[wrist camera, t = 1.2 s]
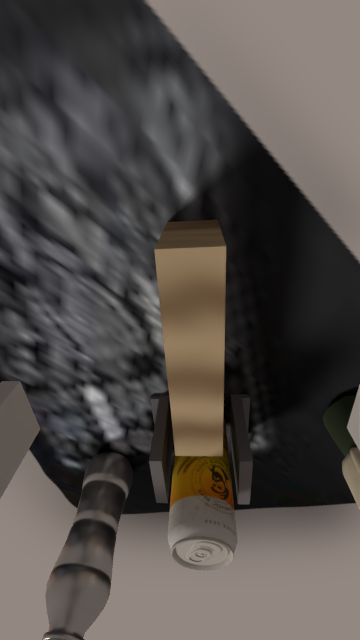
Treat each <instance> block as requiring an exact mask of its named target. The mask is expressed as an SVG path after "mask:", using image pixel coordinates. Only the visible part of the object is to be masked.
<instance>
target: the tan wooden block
mask: <svg viewBox="0 0 360 640" xmlns="http://www.w3.org/2000/svg"><path fill="white" fill-rule="evenodd" d="M154 250H155V260H156V269H157V279H158V289H159V299H160V309H161V319H162V328H163V338H164V348H165V358H166V368H167V378H168V388H169V397H170V407H171V417H172V427H173V437H174V447H175V456H223V410H224V350H225V290H226V244H225V241H224V238H223V234H222V231H221V228H220V225H219V222H218V220H201V221H181V222H167V224H166V226H165V228H164V230H163V232H162V234H161V237H160V239H159V241H158V243H157V245H156V247H155V249H154Z"/></svg>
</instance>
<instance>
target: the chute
mask: <svg viewBox="0 0 360 640" xmlns="http://www.w3.org/2000/svg"><path fill="white" fill-rule="evenodd" d="M151 406H152V412H153V418H154V425H155V427H154V433H153V439H152V446H151V452H150V458H149V464H150V469H151V475H152V480H153V486H154V491H155V496H156V502H157V503H168V494H169V482H170V471H171V459H172V448H173V427H172V417H171V407H170V398H169V395H155V396H151ZM249 411H250V394H231V404H230V439H231V448H232V456H233V465H234V474H235V482H236V491H237V500H238V504H250V492H251V479H252V466H253V460H252V454H251V449H250V443H249V437H248V427H249Z"/></svg>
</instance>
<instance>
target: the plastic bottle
mask: <svg viewBox="0 0 360 640" xmlns="http://www.w3.org/2000/svg"><path fill="white" fill-rule="evenodd" d="M132 474H133V470H132V467H131V464H130V462H129V461H128V459H127V458H125V457H124V456H123V455H121V454H118V453H115V452H103V453H100V454H98V455H97V456H95V457H94V458H93V459H92V460H91V461H90V463H89V465H88V467H87V469H86V472H85V476H84V481H83V490H82V494H81V498H80V502H79V506H78V510H77V514H76V517H75V519H74V522H73V526H72V527H71V530H70V532H69V535H68V538H67V540H66V542H65V545H64V547H63V549H62V551H61V553H60V555H59V558H58V560H57V562H56V564H55V566H54V568H53V571H52V572H51V575H50V578H49V580H48V583H47V589H46V606H47V613H48V619H49V624H50V627H49V632H47V633H45V634H44V636H43V639H42V640H84V639H83V637H84V634H85V632H86V631H87V629H88V628H89V627H90V626H91V625H92V623H93V622H94V621H95V620H96V618H97V617H98V616H99V614H100V613H101V611H102V610H103V609H104V607H105V604H106V602H107V600H108V597H109V594H110V587H111V577H112V566H113V555H114V548H115V542H116V534H117V530H118V524H119V521H120V517H121V514H122V510H123V507H124V503H125V500H126V498H127V495H128V493H129V490H130V487H131V484H132Z"/></svg>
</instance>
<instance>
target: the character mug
mask: <svg viewBox="0 0 360 640" xmlns="http://www.w3.org/2000/svg"><path fill="white" fill-rule="evenodd" d="M355 399H356V395H350V396H344V397H343V398H341V399H340V400H338V401H336V402H335V403H333V404H332V405H331V406H330V407H329V408H328V409H327V410H326V411H325V414H324V416H323V421H324V425H325V426H326V428H327V430H328V431H329V433H330V435H331V436H332V438H333V439H334V441H335V442H336V444H337V445H338V447H339V448H340V450H341V451H342V453H343V454H344V456H345V459H344V460H343V461H342V471H343V474H344V477H345V479H346V481H347V484H348V486H349V488H350V490H351V492H352V494H353V497H354V499H355V501H356V503H357V505H358V508H359V510H360V451H359V449H358V447H357V445H356V444H355V442H354V440H353V438H352V436H351V434H350V433H349V431H348V429H347V425H348V422H349V419H350V415H351V412H352V409H353V405H354V402H355Z"/></svg>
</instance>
